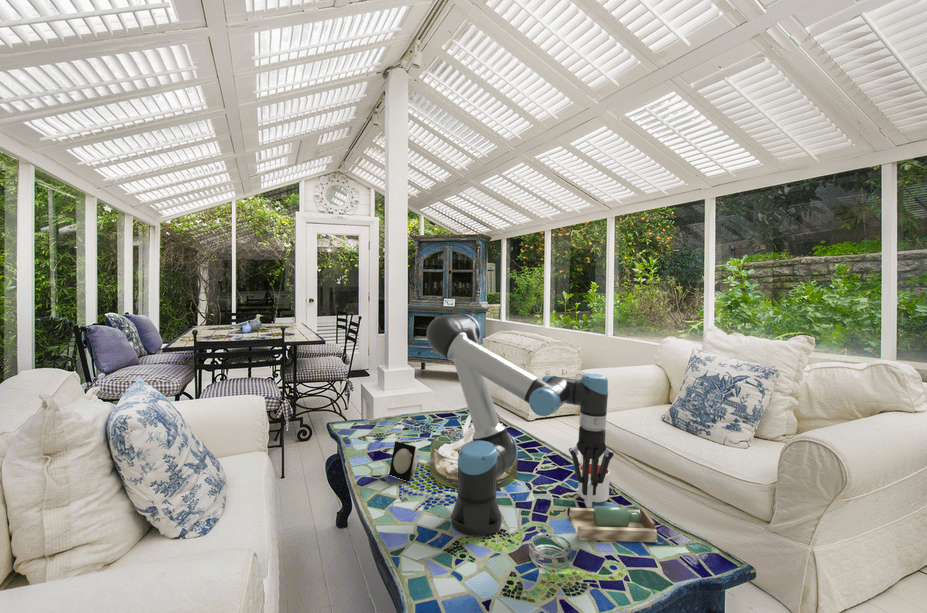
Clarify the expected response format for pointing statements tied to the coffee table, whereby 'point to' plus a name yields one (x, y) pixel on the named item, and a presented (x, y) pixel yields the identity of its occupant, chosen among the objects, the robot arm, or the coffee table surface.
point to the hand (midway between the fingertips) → (588, 504)
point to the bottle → (615, 516)
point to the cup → (601, 489)
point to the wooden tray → (633, 532)
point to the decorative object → (403, 461)
